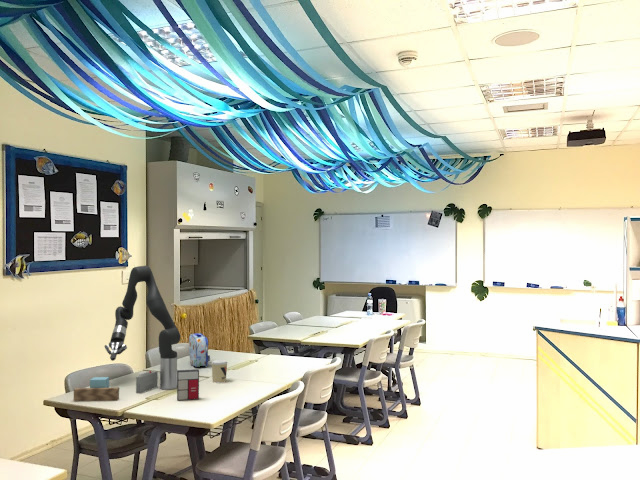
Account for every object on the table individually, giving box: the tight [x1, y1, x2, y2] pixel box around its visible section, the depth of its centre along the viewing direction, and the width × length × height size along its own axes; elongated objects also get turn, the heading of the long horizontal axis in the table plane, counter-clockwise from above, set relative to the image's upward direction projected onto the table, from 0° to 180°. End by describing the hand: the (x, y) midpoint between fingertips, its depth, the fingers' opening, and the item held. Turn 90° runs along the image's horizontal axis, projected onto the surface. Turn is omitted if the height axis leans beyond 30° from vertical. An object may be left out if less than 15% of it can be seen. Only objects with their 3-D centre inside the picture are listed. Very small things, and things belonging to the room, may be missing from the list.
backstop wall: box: [73, 387, 120, 402], centre depth 292 cm, size 22×22×6 cm
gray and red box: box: [176, 368, 200, 401], centre depth 286 cm, size 11×4×15 cm, turn 105°
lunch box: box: [188, 332, 211, 368], centre depth 372 cm, size 28×10×22 cm, turn 25°
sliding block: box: [89, 376, 110, 388], centre depth 288 cm, size 8×6×9 cm
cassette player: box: [135, 370, 159, 394], centre depth 304 cm, size 16×3×10 cm, turn 162°
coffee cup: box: [211, 359, 228, 383], centre depth 325 cm, size 9×9×12 cm
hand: (112, 359), depth 310 cm, fingers closed
